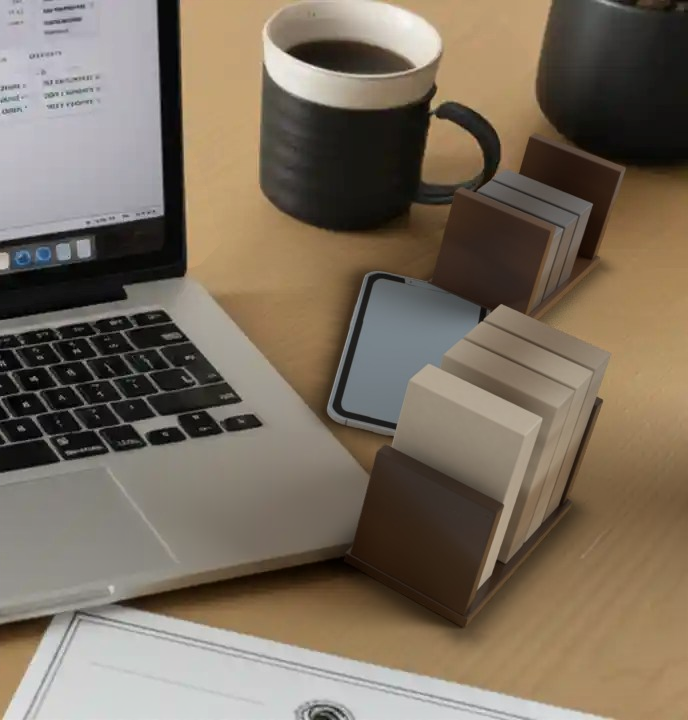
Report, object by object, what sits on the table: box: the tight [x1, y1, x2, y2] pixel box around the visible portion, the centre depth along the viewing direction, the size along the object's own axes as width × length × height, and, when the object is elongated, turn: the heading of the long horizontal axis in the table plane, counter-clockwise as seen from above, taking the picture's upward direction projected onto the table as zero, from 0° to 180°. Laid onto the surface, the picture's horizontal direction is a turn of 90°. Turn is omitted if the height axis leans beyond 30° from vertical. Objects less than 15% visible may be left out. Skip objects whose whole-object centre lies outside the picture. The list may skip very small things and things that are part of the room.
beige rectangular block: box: [391, 364, 542, 590], centre depth 73 cm, size 6×2×9 cm, turn 51°
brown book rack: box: [343, 304, 612, 629], centre depth 75 cm, size 6×11×10 cm, turn 141°
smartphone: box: [326, 270, 491, 437], centre depth 90 cm, size 7×1×15 cm
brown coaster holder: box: [427, 132, 627, 321], centre depth 96 cm, size 6×10×7 cm, turn 141°
